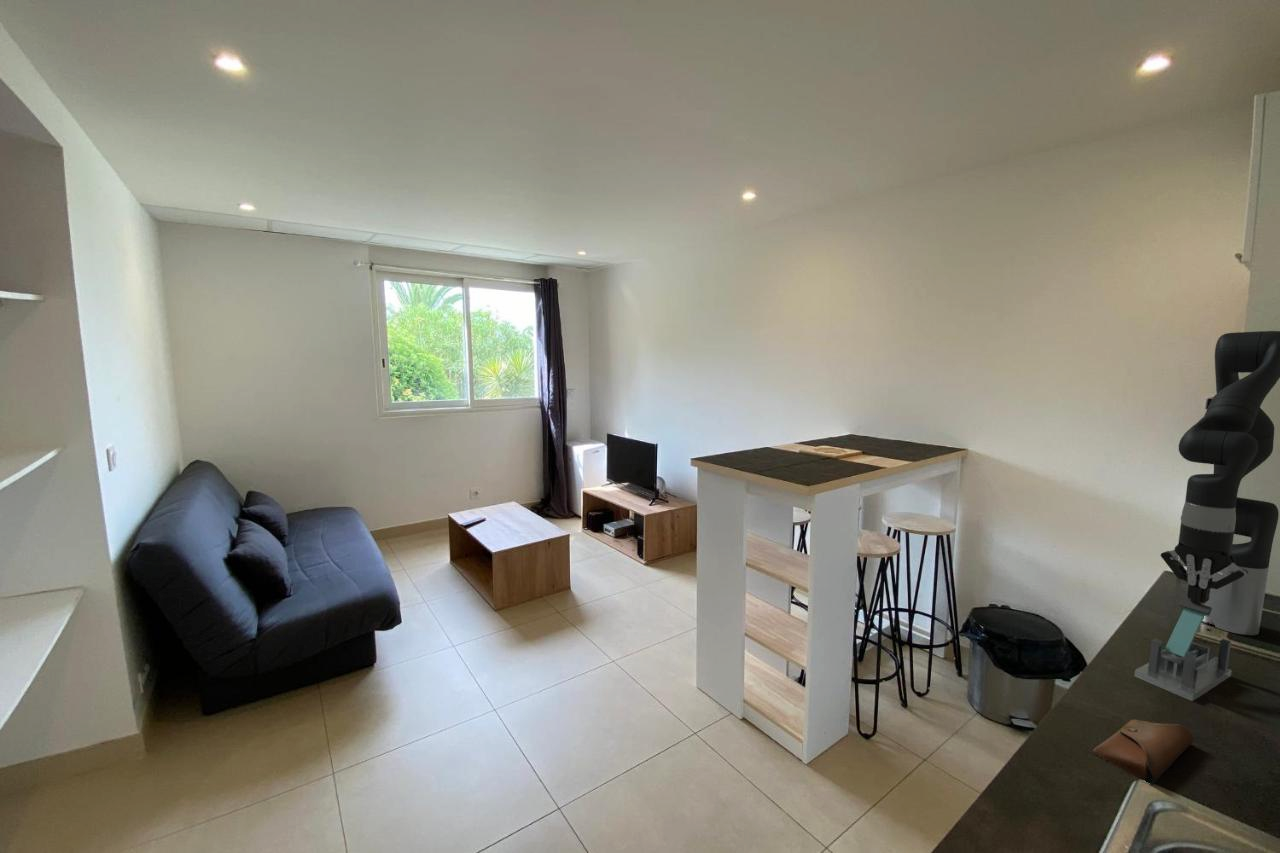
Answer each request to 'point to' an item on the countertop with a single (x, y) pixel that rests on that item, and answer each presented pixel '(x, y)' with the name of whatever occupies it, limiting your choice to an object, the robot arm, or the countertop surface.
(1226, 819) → the countertop surface
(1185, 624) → the teal tile grey cap
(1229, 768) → the countertop surface
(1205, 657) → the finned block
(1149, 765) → the sunglasses case
